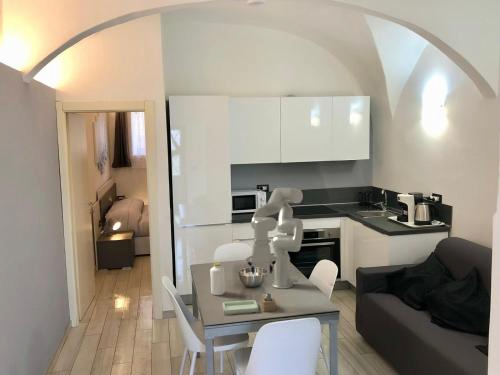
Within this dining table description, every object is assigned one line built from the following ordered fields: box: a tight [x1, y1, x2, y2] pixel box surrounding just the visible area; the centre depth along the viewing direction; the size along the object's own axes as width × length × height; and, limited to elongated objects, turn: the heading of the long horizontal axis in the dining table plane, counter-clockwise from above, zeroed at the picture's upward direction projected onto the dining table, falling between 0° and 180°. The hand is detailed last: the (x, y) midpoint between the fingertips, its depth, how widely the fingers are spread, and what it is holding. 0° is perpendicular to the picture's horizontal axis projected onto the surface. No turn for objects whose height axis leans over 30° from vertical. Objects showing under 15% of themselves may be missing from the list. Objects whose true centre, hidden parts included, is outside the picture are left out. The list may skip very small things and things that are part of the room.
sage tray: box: [221, 299, 259, 316], centre depth 241 cm, size 18×12×2 cm, turn 98°
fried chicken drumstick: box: [261, 293, 277, 312], centre depth 243 cm, size 12×6×5 cm, turn 8°
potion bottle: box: [209, 262, 226, 296], centre depth 266 cm, size 8×8×18 cm
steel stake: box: [265, 293, 272, 301], centre depth 240 cm, size 3×3×8 cm
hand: (261, 273), depth 247 cm, fingers open, 9 cm apart
